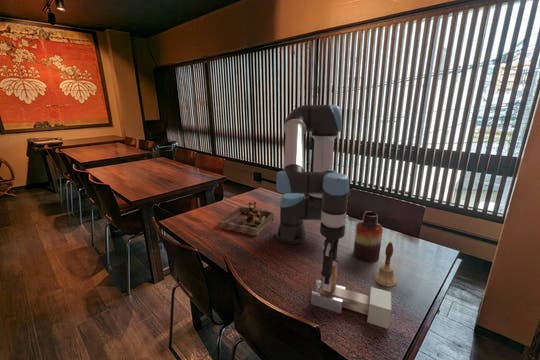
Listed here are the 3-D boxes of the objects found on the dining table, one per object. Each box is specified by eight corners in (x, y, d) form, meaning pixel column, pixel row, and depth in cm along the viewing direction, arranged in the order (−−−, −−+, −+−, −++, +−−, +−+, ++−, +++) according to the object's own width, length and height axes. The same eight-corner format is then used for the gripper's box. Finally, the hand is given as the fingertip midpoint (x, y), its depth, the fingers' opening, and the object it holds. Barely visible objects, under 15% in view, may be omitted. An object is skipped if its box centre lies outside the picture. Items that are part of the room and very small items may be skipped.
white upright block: (367, 322, 79) (369, 303, 77) (368, 304, 86) (371, 286, 84) (388, 329, 76) (391, 310, 74) (388, 310, 83) (390, 292, 81)
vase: (366, 265, 106) (372, 221, 100) (348, 252, 115) (352, 211, 109) (384, 258, 111) (390, 216, 105) (365, 246, 120) (369, 207, 114)
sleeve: (311, 304, 86) (311, 293, 85) (316, 290, 92) (317, 279, 91) (341, 313, 82) (342, 302, 81) (344, 298, 89) (345, 287, 87)
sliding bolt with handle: (318, 300, 86) (321, 265, 82) (322, 291, 90) (324, 257, 86) (382, 320, 78) (388, 282, 74) (382, 309, 82) (388, 273, 78)
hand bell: (369, 273, 101) (374, 238, 97) (389, 272, 102) (395, 237, 97) (380, 287, 93) (385, 250, 89) (401, 286, 94) (408, 248, 89)
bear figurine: (238, 228, 138) (237, 208, 135) (247, 217, 152) (246, 198, 149) (262, 231, 135) (262, 210, 132) (269, 219, 149) (269, 200, 146)
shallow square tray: (219, 228, 139) (219, 221, 137) (240, 211, 159) (240, 206, 157) (256, 236, 130) (256, 229, 128) (274, 218, 150) (274, 212, 148)
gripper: (340, 238, 69) (334, 307, 76) (349, 213, 85) (343, 272, 92) (313, 233, 72) (310, 299, 79) (326, 210, 88) (323, 266, 95)
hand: (328, 284), depth 85 cm, fingers closed on sliding bolt with handle, 5 cm apart
